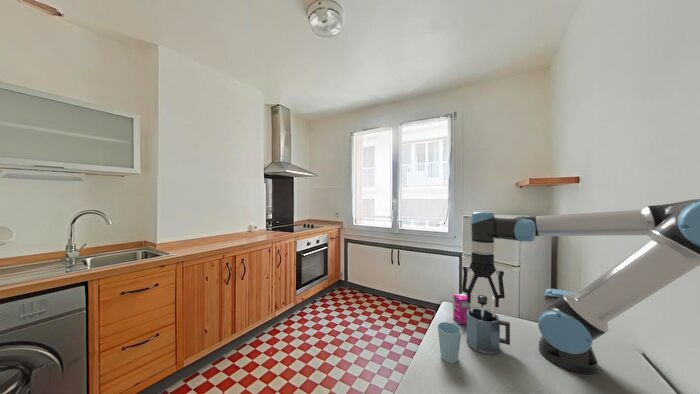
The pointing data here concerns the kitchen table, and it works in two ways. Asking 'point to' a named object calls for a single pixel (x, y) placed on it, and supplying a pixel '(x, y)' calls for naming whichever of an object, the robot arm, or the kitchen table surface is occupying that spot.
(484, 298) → the plunger
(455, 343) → the cup
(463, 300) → the supplement box
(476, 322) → the press carafe
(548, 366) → the kitchen table surface
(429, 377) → the kitchen table surface
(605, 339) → the kitchen table surface
